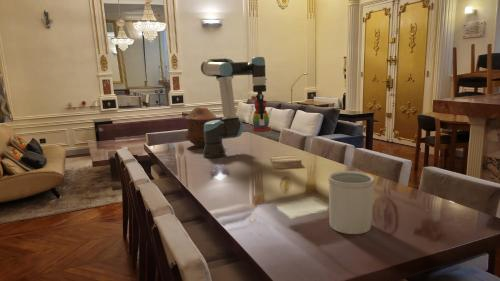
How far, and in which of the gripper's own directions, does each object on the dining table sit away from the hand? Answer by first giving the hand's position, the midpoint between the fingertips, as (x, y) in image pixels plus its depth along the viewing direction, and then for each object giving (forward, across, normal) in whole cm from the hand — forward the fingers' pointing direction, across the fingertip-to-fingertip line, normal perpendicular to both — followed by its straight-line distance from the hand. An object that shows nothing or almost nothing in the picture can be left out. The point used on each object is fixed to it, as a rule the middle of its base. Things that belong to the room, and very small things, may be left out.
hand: (261, 124), depth 208 cm
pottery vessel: (+23, +69, +41) cm, 84 cm away
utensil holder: (+26, -91, -22) cm, 97 cm away
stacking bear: (+4, 0, 0) cm, 4 cm away
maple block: (+25, -1, -13) cm, 28 cm away
